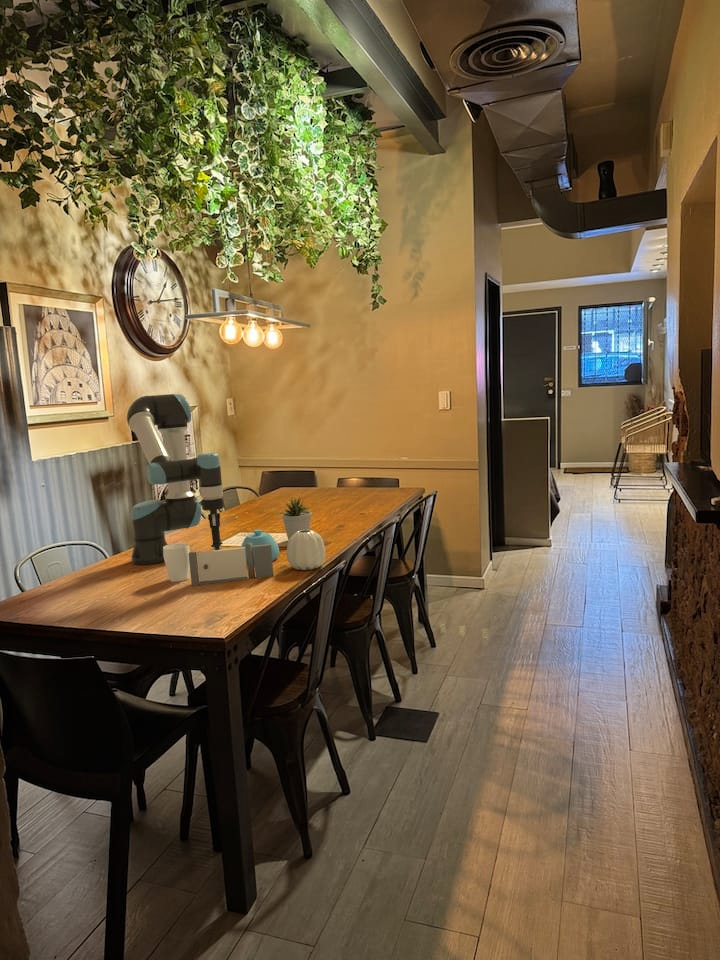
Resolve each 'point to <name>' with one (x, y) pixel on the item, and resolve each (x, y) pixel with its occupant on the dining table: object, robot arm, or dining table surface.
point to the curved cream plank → (222, 564)
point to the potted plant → (296, 518)
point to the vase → (305, 550)
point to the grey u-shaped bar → (261, 564)
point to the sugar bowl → (261, 542)
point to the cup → (177, 561)
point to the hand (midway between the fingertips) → (218, 563)
